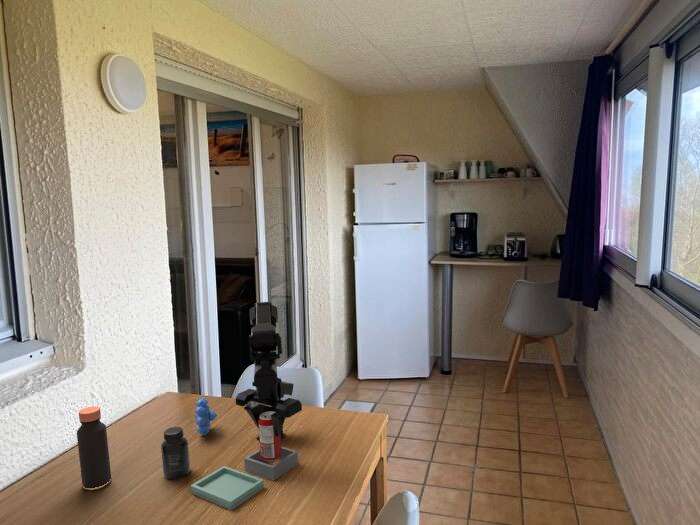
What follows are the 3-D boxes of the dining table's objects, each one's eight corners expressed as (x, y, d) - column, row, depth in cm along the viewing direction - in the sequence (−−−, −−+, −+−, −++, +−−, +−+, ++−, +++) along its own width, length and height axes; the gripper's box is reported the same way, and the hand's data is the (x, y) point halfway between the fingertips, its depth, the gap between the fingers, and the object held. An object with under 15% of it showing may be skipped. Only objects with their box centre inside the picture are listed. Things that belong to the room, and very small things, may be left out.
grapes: (216, 442, 158) (213, 403, 156) (193, 444, 157) (190, 405, 155) (220, 425, 169) (218, 389, 167) (199, 427, 168) (196, 391, 167)
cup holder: (245, 470, 140) (244, 458, 140) (270, 454, 148) (269, 442, 148) (273, 480, 135) (272, 467, 134) (298, 463, 143) (297, 451, 142)
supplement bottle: (195, 468, 142) (192, 426, 141) (180, 482, 136) (176, 437, 134) (174, 465, 145) (170, 423, 143) (157, 478, 138) (153, 434, 137)
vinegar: (117, 478, 139) (109, 405, 137) (100, 492, 132) (92, 416, 130) (94, 476, 140) (86, 404, 138) (76, 490, 134) (68, 414, 131)
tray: (191, 493, 130) (190, 485, 130) (224, 472, 139) (224, 465, 139) (231, 509, 123) (230, 501, 122) (263, 487, 132) (263, 479, 131)
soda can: (279, 450, 144) (277, 408, 143) (283, 459, 139) (280, 416, 138) (259, 454, 143) (256, 411, 141) (262, 463, 138) (259, 419, 136)
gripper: (313, 372, 140) (316, 429, 142) (261, 362, 150) (264, 415, 152) (285, 386, 131) (289, 446, 133) (232, 374, 141) (236, 430, 143)
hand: (269, 433), depth 140 cm, fingers closed on soda can, 5 cm apart
